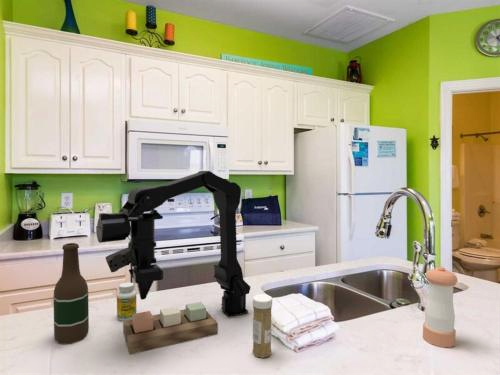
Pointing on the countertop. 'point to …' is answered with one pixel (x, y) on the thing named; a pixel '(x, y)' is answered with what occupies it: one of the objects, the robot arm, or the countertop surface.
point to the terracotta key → (142, 321)
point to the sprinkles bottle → (262, 325)
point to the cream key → (170, 316)
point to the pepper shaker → (440, 308)
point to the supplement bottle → (126, 301)
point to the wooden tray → (168, 333)
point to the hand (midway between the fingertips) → (143, 299)
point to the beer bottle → (71, 300)
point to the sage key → (195, 311)
